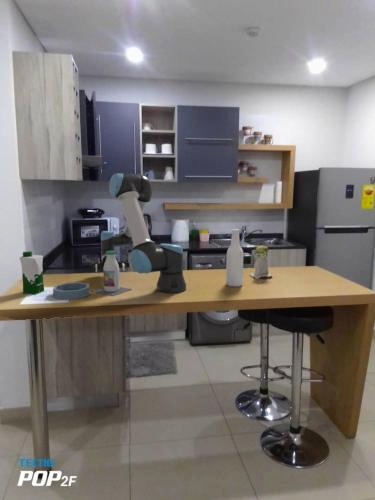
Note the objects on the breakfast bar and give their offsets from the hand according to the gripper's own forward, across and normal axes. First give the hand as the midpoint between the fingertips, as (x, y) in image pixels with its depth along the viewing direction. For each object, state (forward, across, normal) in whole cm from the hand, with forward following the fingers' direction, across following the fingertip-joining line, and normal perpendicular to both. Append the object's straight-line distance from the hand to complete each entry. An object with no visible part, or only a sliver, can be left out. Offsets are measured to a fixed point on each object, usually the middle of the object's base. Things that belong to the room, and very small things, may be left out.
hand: (110, 268), depth 180 cm
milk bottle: (+2, 0, -11) cm, 11 cm away
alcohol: (+5, -65, -11) cm, 66 cm away
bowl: (+4, +19, -11) cm, 22 cm away
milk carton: (-5, +37, -11) cm, 39 cm away
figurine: (-9, -87, -11) cm, 89 cm away
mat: (+2, 0, -11) cm, 11 cm away
